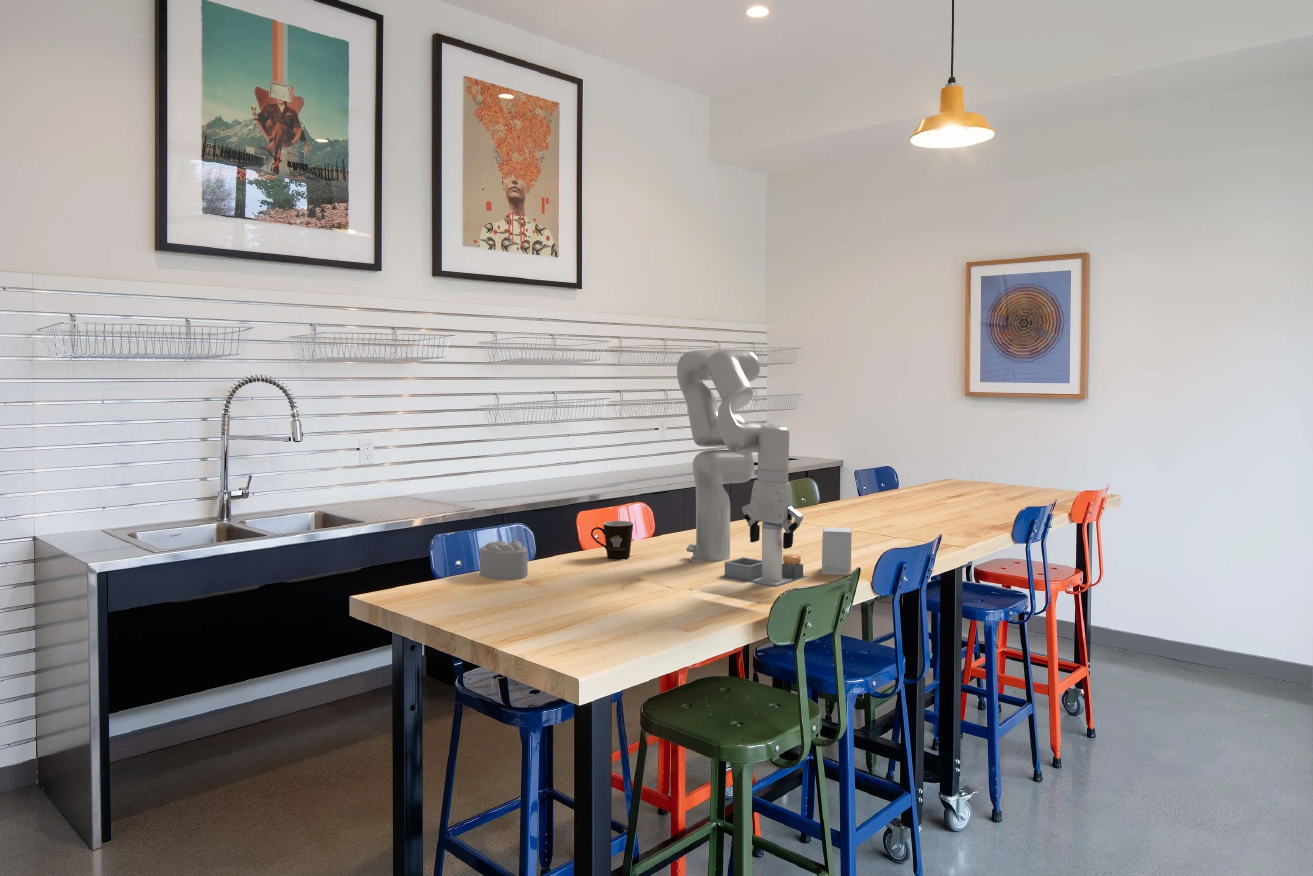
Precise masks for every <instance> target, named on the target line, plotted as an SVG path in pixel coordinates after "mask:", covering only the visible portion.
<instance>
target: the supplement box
mask: <svg viewBox="0 0 1313 876" xmlns="http://www.w3.org/2000/svg"><path fill="white" fill-rule="evenodd" d="M852 534H853V533H852V529H851V527H836V526H834V527H833V526H831V527H830V526H824V527H822V544H821V546H822V547H821V549H822V550H821V573H822V575H831V576H832V575H835V576H836V575H837V576H850V575H849V573H850V572H851V573H852V539H853V538H852Z"/></svg>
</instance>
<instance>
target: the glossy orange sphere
mask: <svg viewBox="0 0 1313 876" xmlns="http://www.w3.org/2000/svg"><path fill="white" fill-rule="evenodd" d="M782 563H787V565H789V566H796V565H797V564H798V563H800V564H802V562H801V555H799V554H795V553H794V554H791V553H789V554H782Z"/></svg>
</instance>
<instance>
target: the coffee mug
mask: <svg viewBox="0 0 1313 876" xmlns="http://www.w3.org/2000/svg"><path fill="white" fill-rule="evenodd" d="M633 529H634V522H632V521H627V520H611V521H605V522H604V523H603V527H600V526H597V527H594V528H592V529H591V531H590V535H591V538H592V540H594V542H595V543H597V544H598V545H600V546H601V547H603V548H604V549H605V550H606V556H607V557H606V558H607V559H608V560H611V559H614V560H613V561H622V560H621V559H625V560H628V559H627V558H629V557H631V546H632V541H633V540H632V539H633V538H632V537H633ZM596 530H600V531H601V532H602V534H603V535H604V540H605V544H603V543H602V542H600V541H599V540H597V539H596V538H595V536H594V531H596ZM615 559H616V560H615ZM629 559H630V558H629Z"/></svg>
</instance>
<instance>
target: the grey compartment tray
mask: <svg viewBox="0 0 1313 876" xmlns="http://www.w3.org/2000/svg"><path fill="white" fill-rule="evenodd" d="M719 577H720V578H724V579H731V580H735V581H739V582H746V583H752V584H757V585H762V586H767V587H772V588H779V587H782V586H783V585H788V584H790V583H793V582H796V581H799V580H800V581H801V580H802V579H805V578H808V577H809V576H808V575H804V564H803V563H798V564H797V565H796V566H789V565H787V563H784V562H782V581H779V582H767V581H763V580H762V559H756V558H751V557H739V558H735V559H731V560H728V561H727V560H726V561H725V562H724V574H723V575H720V576H719Z"/></svg>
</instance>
